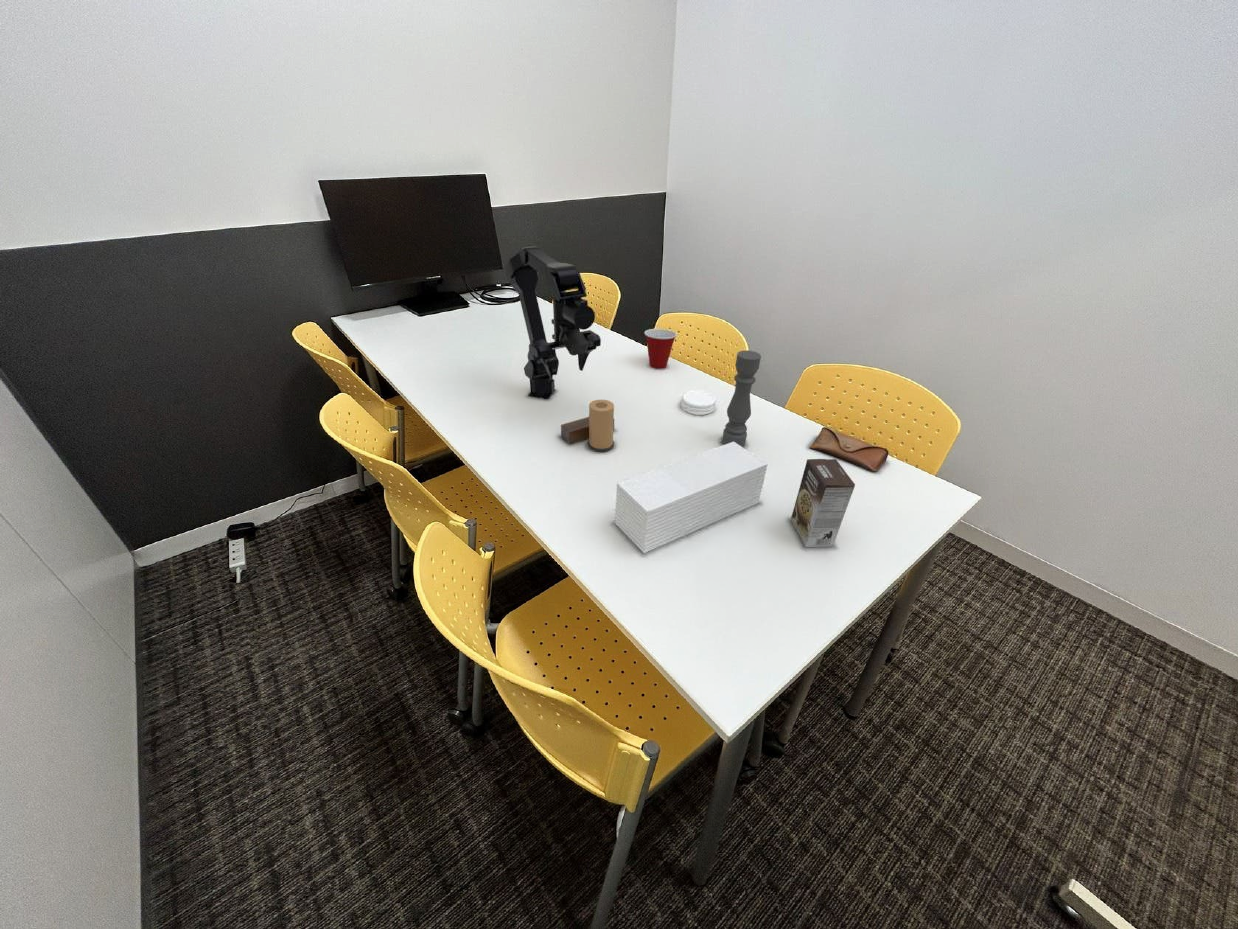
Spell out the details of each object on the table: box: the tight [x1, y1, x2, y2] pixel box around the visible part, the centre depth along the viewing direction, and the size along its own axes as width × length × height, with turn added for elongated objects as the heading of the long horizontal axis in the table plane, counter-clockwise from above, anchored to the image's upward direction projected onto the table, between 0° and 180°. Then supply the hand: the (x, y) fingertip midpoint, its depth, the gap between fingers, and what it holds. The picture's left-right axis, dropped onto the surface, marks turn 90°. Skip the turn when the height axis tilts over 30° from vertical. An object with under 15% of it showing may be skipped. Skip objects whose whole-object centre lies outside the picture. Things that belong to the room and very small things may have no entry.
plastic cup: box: [643, 328, 678, 370], centre depth 180 cm, size 11×11×12 cm
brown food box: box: [790, 458, 856, 548], centre depth 109 cm, size 9×6×16 cm
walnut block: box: [560, 416, 615, 445], centre depth 143 cm, size 4×14×4 cm, turn 123°
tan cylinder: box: [587, 399, 615, 453], centre depth 136 cm, size 13×7×13 cm
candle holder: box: [721, 349, 762, 448], centre depth 136 cm, size 6×6×25 cm
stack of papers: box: [614, 442, 768, 554], centre depth 114 cm, size 32×11×11 cm, turn 123°
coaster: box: [680, 389, 717, 416], centre depth 158 cm, size 10×10×4 cm
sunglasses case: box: [809, 426, 889, 473], centre depth 139 cm, size 18×7×7 cm
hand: (566, 373), depth 145 cm, fingers open, 9 cm apart
